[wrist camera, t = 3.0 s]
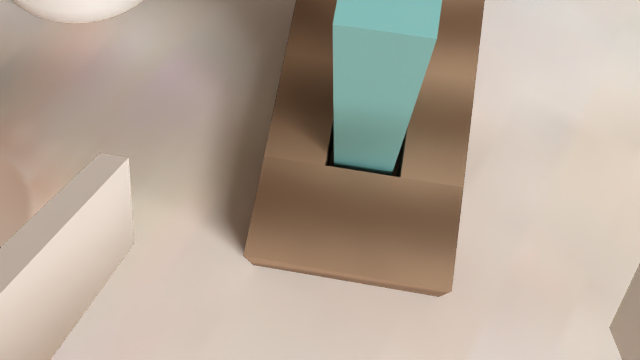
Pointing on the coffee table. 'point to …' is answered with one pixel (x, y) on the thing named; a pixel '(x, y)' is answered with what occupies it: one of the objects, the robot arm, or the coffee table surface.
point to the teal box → (378, 77)
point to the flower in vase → (77, 9)
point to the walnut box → (364, 187)
